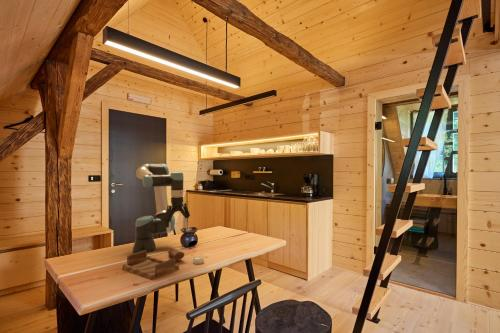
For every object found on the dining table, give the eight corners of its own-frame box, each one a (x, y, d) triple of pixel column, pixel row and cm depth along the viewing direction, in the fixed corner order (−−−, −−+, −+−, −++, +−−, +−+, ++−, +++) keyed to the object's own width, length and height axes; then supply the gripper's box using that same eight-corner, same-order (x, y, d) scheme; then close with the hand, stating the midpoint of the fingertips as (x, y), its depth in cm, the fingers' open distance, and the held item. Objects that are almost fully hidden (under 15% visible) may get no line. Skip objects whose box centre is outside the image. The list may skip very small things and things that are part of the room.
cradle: (122, 269, 152) (122, 257, 152) (149, 260, 167) (149, 248, 167) (152, 280, 137) (152, 267, 137) (179, 269, 153) (179, 257, 152)
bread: (175, 263, 161) (173, 254, 160) (167, 255, 177) (165, 247, 176) (185, 258, 164) (183, 250, 164) (176, 251, 180) (174, 243, 180)
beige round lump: (190, 263, 162) (190, 258, 162) (198, 260, 168) (198, 255, 168) (198, 265, 159) (198, 260, 159) (205, 262, 164) (205, 257, 164)
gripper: (165, 199, 156) (165, 235, 156) (195, 195, 177) (195, 226, 177) (156, 198, 160) (156, 233, 160) (187, 194, 181) (187, 225, 181)
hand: (177, 230), depth 168 cm, fingers open, 13 cm apart
